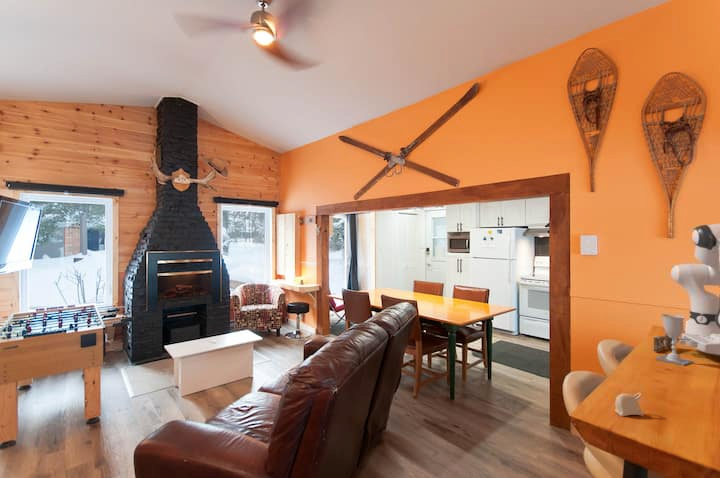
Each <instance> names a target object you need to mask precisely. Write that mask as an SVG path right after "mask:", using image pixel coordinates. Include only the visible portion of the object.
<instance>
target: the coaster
mask: <svg viewBox="0 0 720 478" xmlns="http://www.w3.org/2000/svg"><path fill="white" fill-rule="evenodd" d="M667 356H668V354H663V355H660V356H658V357H655V361H661V362H665V363H670V364H674V365H678V366H682V367H683V366H684V367H685V366H687V365H690V364H691V363H693V362H694V361H693V360H692V359H686V358H682V357H681V359H682V361H672V360H668V359H666V358H667Z"/></svg>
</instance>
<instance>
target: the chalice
mask: <svg viewBox="0 0 720 478" xmlns="http://www.w3.org/2000/svg"><path fill="white" fill-rule="evenodd" d="M661 316H662V318H663V320H662V321H663V322H662V323H663V324H662V326H663V328H664V331H665V332H666V333H665V334H668V336H669V337H670V338H672V342H671V343H672V347H671V348H672V349H671V348H670V349H671V350H672V351H671V352H669V353H667V355H668V356H667V358H666V359H668V360H672V361H682V359H683V358H682V357H681V355H680V354H679V353H677V352H676V350H677V347H676V344H677V342H676V339H677V338H680V336H682V334H683V331H684V320H685V318H686V317H685V316H682V315H677V314H661ZM681 358H682V359H681Z"/></svg>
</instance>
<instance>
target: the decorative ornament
mask: <svg viewBox="0 0 720 478" xmlns="http://www.w3.org/2000/svg"><path fill="white" fill-rule="evenodd" d="M642 396H643V394H642V393H641V392H638V393H636V394H633V395H632V394H629V393H620V394H619V395H617V396H616V398H615V401H614V404H615V405H614V406H615V409H614V411H615V413H617V414H618V415H619V416H620V417H622V418H623V417H625V416H631V415H635V416H636V415H637V416H641V417H644V416H645V415H644V414H643V412H642V409H641V405H640V403H639V400H640V399H641V398H642Z"/></svg>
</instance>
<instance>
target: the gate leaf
mask: <svg viewBox="0 0 720 478" xmlns="http://www.w3.org/2000/svg"><path fill="white" fill-rule="evenodd" d="M658 342H659V344H660V346H658ZM668 349H671V338H670V337H669V336H668V334H667V333H665V334H663V335H660V336H659V335H658V336H656V337H653V351H654V352H656V353H658V352H661V351H664V350H665V351H666V350H668Z"/></svg>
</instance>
